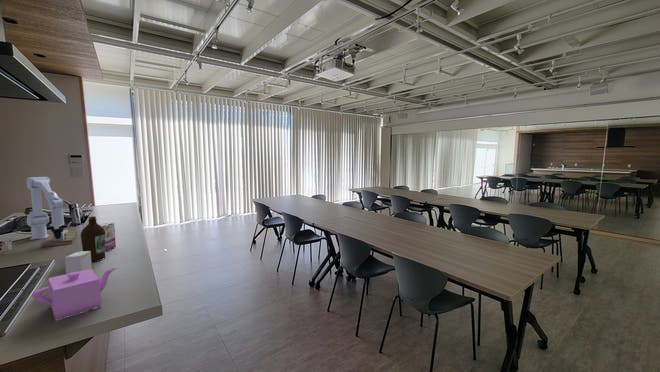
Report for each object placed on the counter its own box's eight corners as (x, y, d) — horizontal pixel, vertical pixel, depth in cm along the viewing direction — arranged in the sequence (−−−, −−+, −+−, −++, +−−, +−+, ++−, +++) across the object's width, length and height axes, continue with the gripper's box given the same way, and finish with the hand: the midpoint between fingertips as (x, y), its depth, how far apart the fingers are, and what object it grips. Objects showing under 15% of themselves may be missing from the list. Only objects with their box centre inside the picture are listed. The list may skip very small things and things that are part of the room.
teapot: (123, 300, 114) (121, 268, 112) (35, 327, 94) (32, 289, 93) (113, 288, 123) (112, 259, 122) (32, 311, 104) (29, 276, 103)
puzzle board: (50, 237, 193) (49, 231, 193) (76, 235, 202) (76, 229, 201) (42, 247, 174) (42, 240, 174) (72, 243, 183) (71, 237, 182)
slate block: (54, 241, 183) (53, 232, 183) (64, 240, 186) (64, 231, 186) (52, 243, 179) (52, 234, 179) (63, 241, 182) (62, 233, 182)
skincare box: (81, 288, 123) (79, 256, 121) (66, 289, 122) (63, 257, 120) (93, 280, 131) (91, 250, 130) (78, 280, 130) (76, 250, 128)
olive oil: (77, 262, 151) (74, 218, 149) (92, 255, 162) (90, 214, 159) (96, 263, 151) (94, 219, 149) (111, 256, 162) (109, 215, 160)
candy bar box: (108, 247, 178) (107, 222, 176) (116, 247, 178) (114, 222, 176) (93, 252, 167) (91, 226, 165) (101, 253, 167) (100, 227, 165)
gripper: (51, 216, 185) (52, 235, 186) (46, 220, 173) (48, 240, 175) (65, 215, 189) (66, 234, 190) (62, 219, 178) (63, 239, 179)
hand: (59, 237), depth 183 cm, fingers open, 7 cm apart
